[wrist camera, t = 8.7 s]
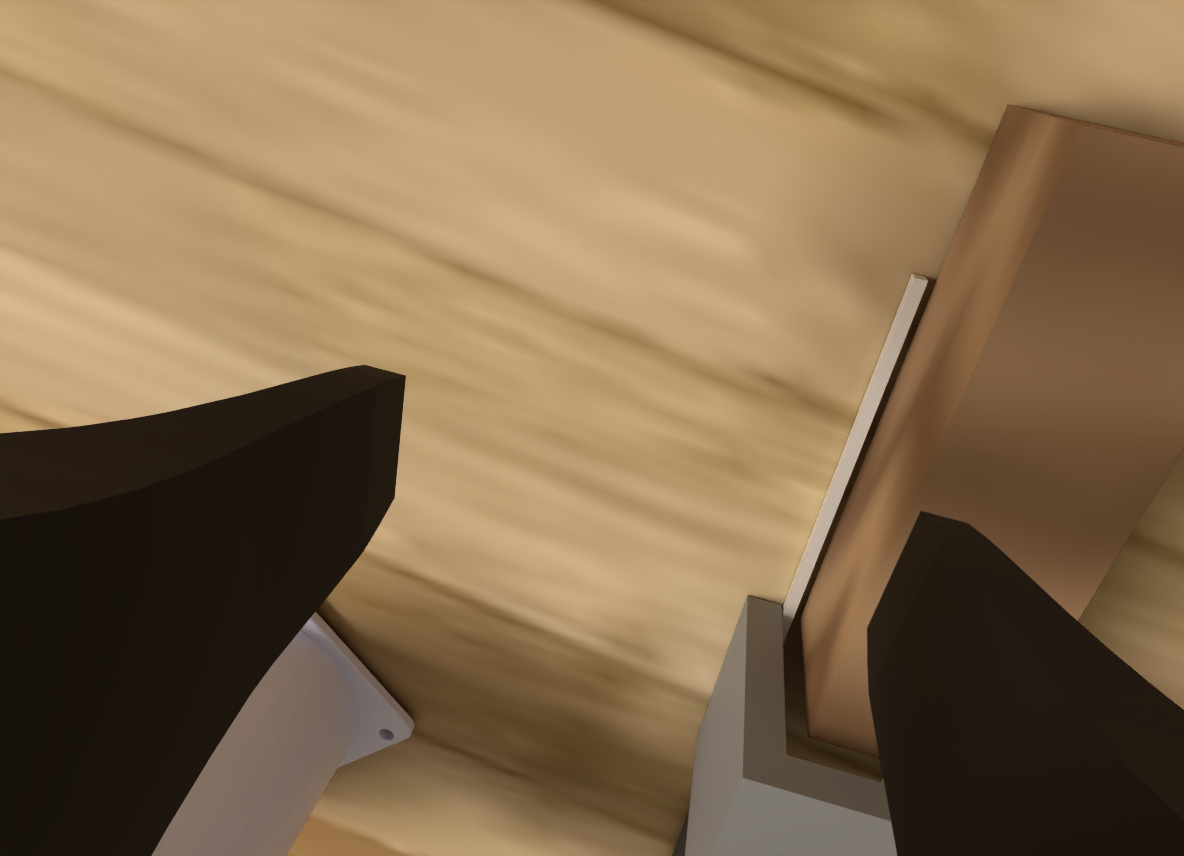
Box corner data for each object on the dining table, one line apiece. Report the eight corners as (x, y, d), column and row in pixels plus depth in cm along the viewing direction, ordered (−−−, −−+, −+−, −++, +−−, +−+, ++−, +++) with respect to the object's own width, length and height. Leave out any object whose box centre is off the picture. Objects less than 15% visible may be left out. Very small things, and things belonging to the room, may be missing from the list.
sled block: (939, 655, 23) (976, 785, 19) (800, 617, 23) (808, 737, 19) (1205, 147, 16) (1345, 183, 13) (1007, 105, 17) (1083, 125, 13)
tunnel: (895, 844, 26) (932, 1068, 21) (681, 780, 27) (659, 981, 21) (1184, 338, 18) (1379, 478, 12) (867, 262, 19) (913, 362, 13)
